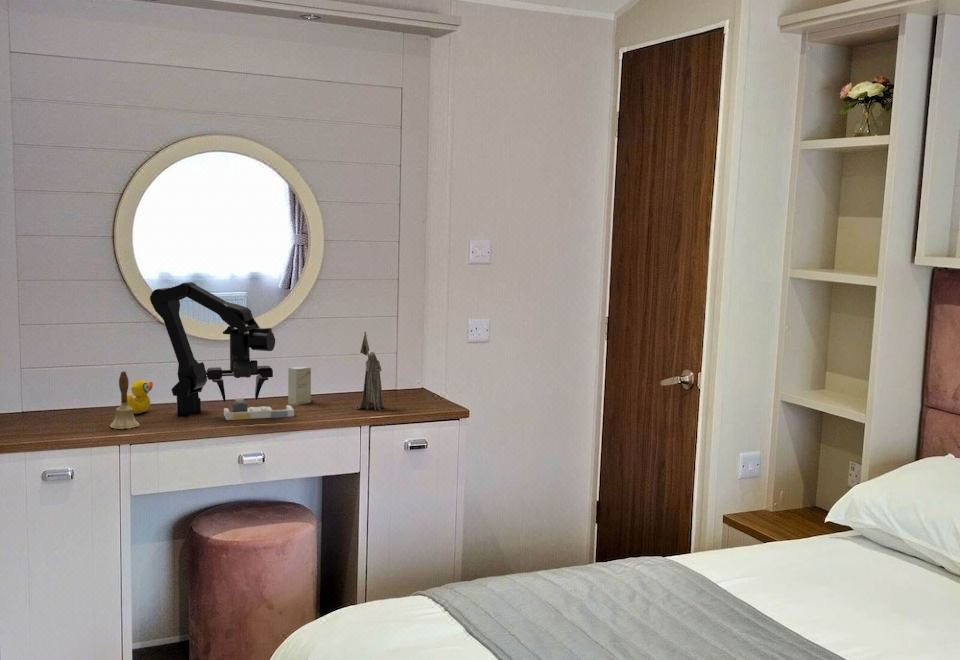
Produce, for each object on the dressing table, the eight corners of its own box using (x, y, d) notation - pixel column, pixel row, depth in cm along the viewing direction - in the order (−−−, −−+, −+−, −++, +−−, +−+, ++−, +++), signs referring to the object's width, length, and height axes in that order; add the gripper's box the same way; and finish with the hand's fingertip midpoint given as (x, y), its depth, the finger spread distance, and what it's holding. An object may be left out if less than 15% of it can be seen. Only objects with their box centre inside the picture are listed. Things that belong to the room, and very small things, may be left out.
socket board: (227, 424, 276) (227, 415, 276) (223, 416, 286) (223, 408, 286) (295, 420, 283) (295, 412, 283) (290, 413, 293) (290, 405, 293)
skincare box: (296, 406, 303) (296, 369, 301) (287, 404, 305) (287, 367, 304) (311, 404, 308) (311, 367, 306) (302, 402, 310) (302, 365, 309)
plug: (233, 419, 282) (233, 400, 281) (232, 417, 286) (232, 397, 285) (247, 419, 284) (247, 399, 283) (245, 416, 287) (245, 397, 287)
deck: (240, 414, 289) (240, 412, 289) (237, 410, 296) (237, 408, 296) (273, 412, 293) (273, 410, 293) (270, 408, 299) (270, 406, 299)
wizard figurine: (358, 413, 295) (358, 333, 292) (350, 407, 303) (350, 330, 300) (389, 410, 300) (390, 332, 297) (380, 405, 307) (381, 329, 304)
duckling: (145, 408, 295) (144, 377, 294) (159, 410, 293) (158, 378, 292) (118, 415, 285) (117, 382, 283) (132, 417, 282) (132, 384, 281)
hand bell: (145, 426, 271) (144, 371, 269) (118, 431, 265) (116, 375, 263) (131, 422, 276) (129, 368, 274) (103, 426, 270) (102, 371, 268)
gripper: (209, 354, 271) (210, 407, 273) (275, 352, 278) (275, 404, 280) (206, 349, 282) (207, 400, 284) (270, 347, 288) (270, 397, 290)
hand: (240, 400), depth 284 cm, fingers open, 9 cm apart
